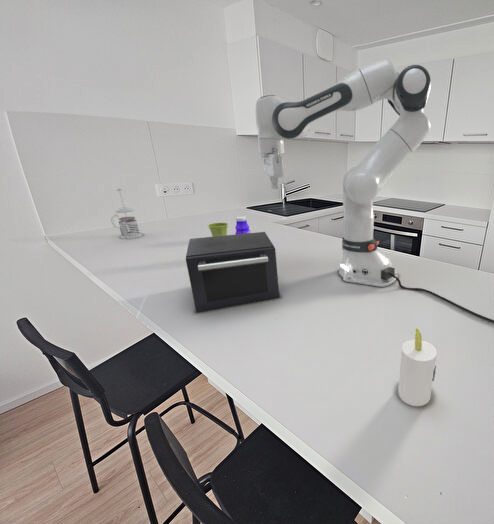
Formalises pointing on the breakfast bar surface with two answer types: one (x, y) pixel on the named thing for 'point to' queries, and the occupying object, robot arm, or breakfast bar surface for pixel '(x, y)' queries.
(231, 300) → the oven door
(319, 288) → the breakfast bar surface
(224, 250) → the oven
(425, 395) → the candle
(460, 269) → the breakfast bar surface
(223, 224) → the plant pot
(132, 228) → the french press
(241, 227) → the bottle
